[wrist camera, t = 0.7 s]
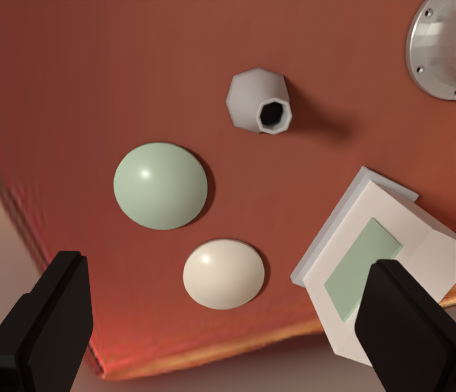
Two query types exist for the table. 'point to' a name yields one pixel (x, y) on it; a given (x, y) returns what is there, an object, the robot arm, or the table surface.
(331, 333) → the control unit
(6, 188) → the table surface
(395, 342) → the robot arm
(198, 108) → the table surface
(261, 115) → the flask
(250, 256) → the cream pad
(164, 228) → the green pad
